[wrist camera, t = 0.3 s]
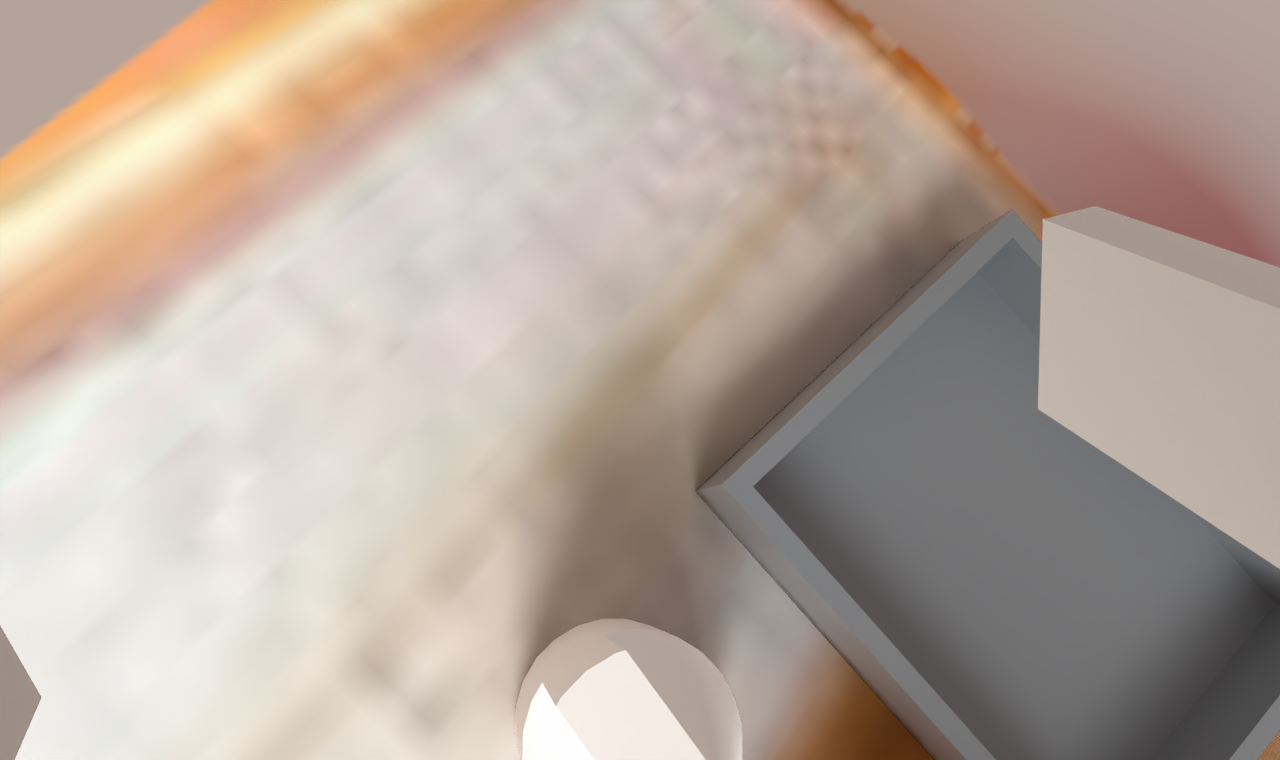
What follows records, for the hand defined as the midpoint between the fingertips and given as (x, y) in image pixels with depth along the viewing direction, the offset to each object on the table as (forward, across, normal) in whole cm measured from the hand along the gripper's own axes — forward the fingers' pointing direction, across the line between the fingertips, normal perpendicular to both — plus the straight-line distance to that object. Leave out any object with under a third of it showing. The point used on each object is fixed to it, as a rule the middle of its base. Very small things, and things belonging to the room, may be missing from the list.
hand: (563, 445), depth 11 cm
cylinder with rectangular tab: (+24, -2, +27) cm, 36 cm away
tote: (+25, -23, +26) cm, 43 cm away
